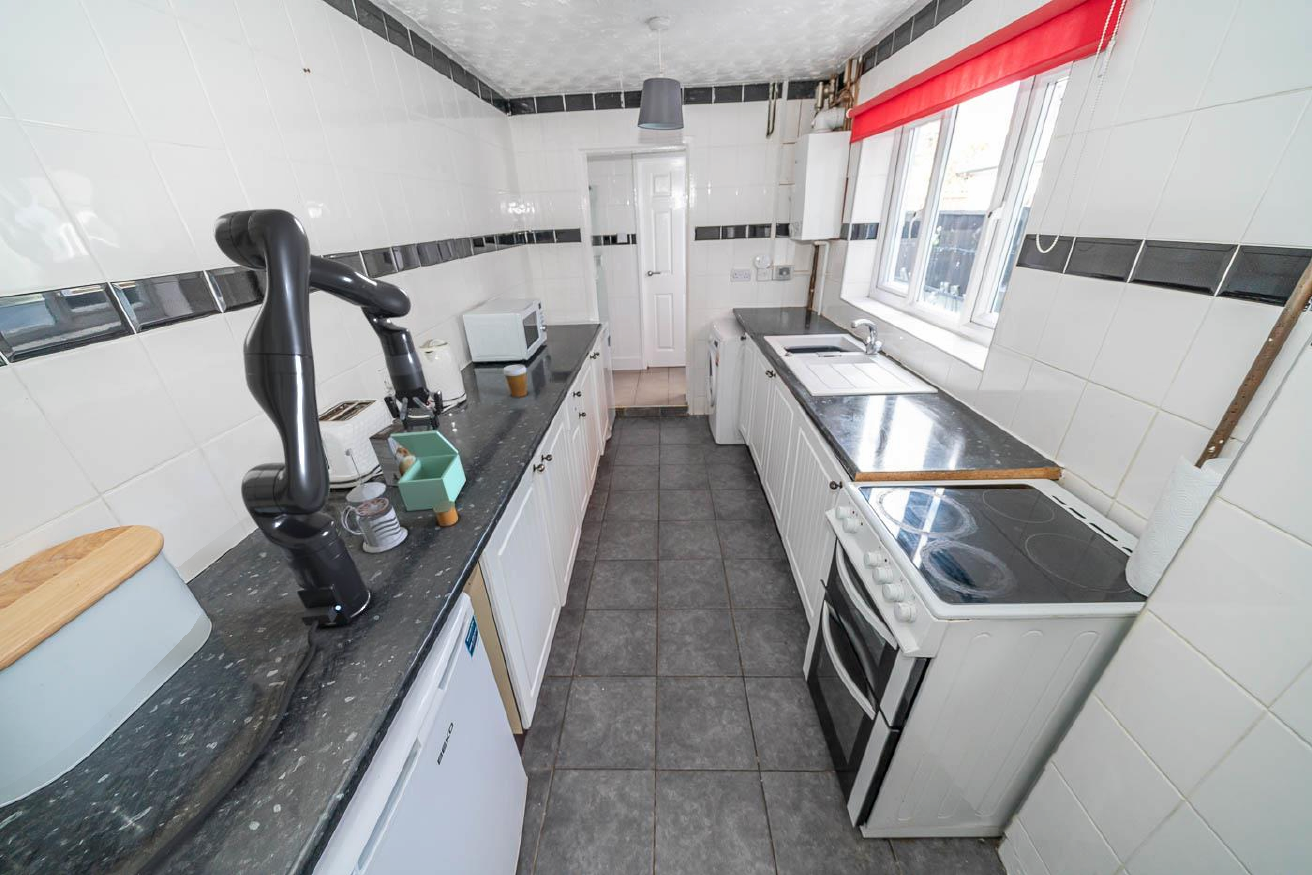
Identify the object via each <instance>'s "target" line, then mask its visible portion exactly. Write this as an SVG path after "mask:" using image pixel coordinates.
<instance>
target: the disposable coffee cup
mask: <svg viewBox="0 0 1312 875" xmlns="http://www.w3.org/2000/svg"><path fill="white" fill-rule="evenodd" d="M502 373H503V375H504V376H505V379H506V382H507V386H508V387H509V390H510V394H511V396H512V397H514V398H520V397H525V396H526V395H527V394H528V388H527V386H528V385H527V367H526V366H525V365H524V364H510V365H507V366H505V367H504V368H503V372H502Z"/></svg>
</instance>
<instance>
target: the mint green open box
mask: <svg viewBox="0 0 1312 875" xmlns="http://www.w3.org/2000/svg"><path fill="white" fill-rule="evenodd" d="M466 481H467V479H466V475H465V471H464V469H463V464H462V460H461V457H460V454H459V453H458V454H451V455H440V456H428V457H420V458H417V459H416V460H415V461H414V463H413V464H412V465H411V466H410V468H409V469H408V470H407V471H406V473H405V474H404V475H403V477H402V478H401V479H400V480H399V482H398V483H397V484H398V486H397V487H398V489H399V493H400V495H401V498H402V500H403V503H404V506H405V509H406V511H407V512H410V511H411V512H413V511H420V510H422V511H423V510H432V509H433V508H434V507H435V505H437V504H438V503H440V502H443V501H453V502H454V503H455V501H456V500H457V497H458V496H459V494H460V492H461V491H462V489H463V487H464V485H465V483H466Z"/></svg>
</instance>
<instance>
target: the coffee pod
mask: <svg viewBox="0 0 1312 875" xmlns="http://www.w3.org/2000/svg"><path fill="white" fill-rule="evenodd" d="M433 512H434V513H435V515H436V519H437V522H438V524H439V526H441V527H449V526H452V525H453V524H456V523H457V522H458V520H459V516H458V513H457V510H456V504H455V501H454V502H453V501H443V502H440V503H438V504H437V505H435V507H434V508H433Z"/></svg>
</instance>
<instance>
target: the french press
mask: <svg viewBox="0 0 1312 875" xmlns="http://www.w3.org/2000/svg"><path fill="white" fill-rule="evenodd" d="M344 454H345V456H347V457H350V458H351V460H352V462H353V465H354V467H355V470H356V472H357V474H358V477H359V479H360V482H361V484H360V485H358V486H356V487H354V488H352V490H351V491H350V492H349V493H347V495H346V497H345V500H346V501H347V502H348V503H352V504H358V506H357V507H354V506H352V505H346V507H345V508H344V509H343V511H342V513H341V516H340V523H341V525H342V527H343V528H344V529H345V531H347V532H349V533H351V534H353V535H361V536H362V538H363V540H364V542H363V544H362V549H363V551H364V552H367V553H371V554H372V553H382V552H385V551H388V550H390V549H392V548H395V547H396V546H398V545H400V544H401V543H402V542H403V541H405V539H406V538H407V536H408V530H407V529H406V528H405V527H403V526H401V525H400V522H399V519H398V517H397V514H396V512H395V508H394V506H393V504H392V503H390V500H389V499H388V498H385V497H380V496H381V495H383V494H384V492H385V491H386V487H387V484H385V483H383V482H378V481H372V482H366V483H364V482H363V480H362V477H361V474H360V472H359V470H358V467H357V465H356V463H355V460H354V457H353V455H355V454H356V451H355V449H354V448H347V449H345V451H344ZM348 508H350V509H349V510H348V511H347V513H346V515H345V518H344V513H345V511H346V510H347V509H348ZM350 512H354V514H355V520H356V523H357V526H358V527H359V530H351V529H350V528H349V525H348V522H347V521H348V519H347V518H348V515H349V513H350ZM372 516H373V517H372ZM375 516H376V517H375ZM367 517H369V518H367ZM365 518H366V519H365ZM364 519H365V520H364ZM343 520H344V521H343ZM344 522H345V523H344Z"/></svg>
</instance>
